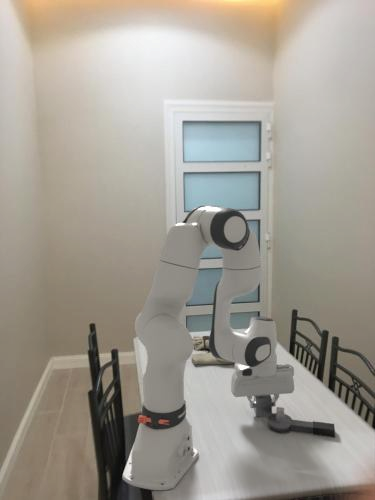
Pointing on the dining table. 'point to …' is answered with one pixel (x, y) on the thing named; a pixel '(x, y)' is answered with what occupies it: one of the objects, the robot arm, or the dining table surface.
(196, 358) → the pair of gloves
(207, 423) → the dining table surface
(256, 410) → the plain grey cube block
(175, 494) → the dining table surface
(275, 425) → the ratchet
